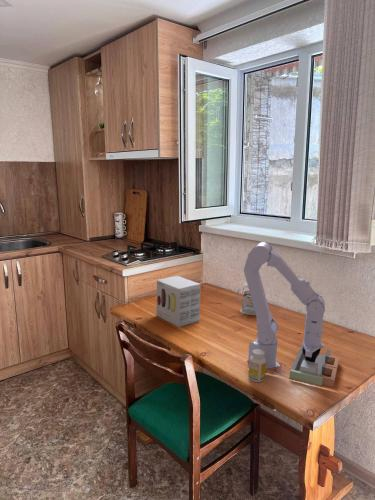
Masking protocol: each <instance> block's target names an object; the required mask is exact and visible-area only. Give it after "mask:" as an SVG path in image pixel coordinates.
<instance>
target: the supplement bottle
mask: <svg viewBox="0 0 375 500" xmlns="http://www.w3.org/2000/svg"><path fill="white" fill-rule="evenodd" d="M264 356H265V352H264V351H263V350H260V349H254V350H253V351H252V356H251V357H250V363H249V362H248V363H249V366H248V378H249V380H250V381H251V382H255V383H260V382H264V381H265V377H266V369H267V368H266V359H265V357H264ZM265 368H266V369H265Z"/></svg>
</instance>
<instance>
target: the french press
mask: <svg viewBox="0 0 375 500" xmlns="http://www.w3.org/2000/svg"><path fill="white" fill-rule="evenodd" d="M245 288H248V284H247V281H246V282H244V283H243V286H242V287H240V288H239V289H238V290H237V293H236V297H237V300H238V301H240V302H241V309H240V310H239V312H240V313H241V314H244V315H248V316H249V315H250V316H255V315H256V313H255V309H254V306H253V302H252V299H251V295H250V291H249V290H245ZM241 290H243V295H242V300H241V299H240V298H239V292H240V291H241Z"/></svg>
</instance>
